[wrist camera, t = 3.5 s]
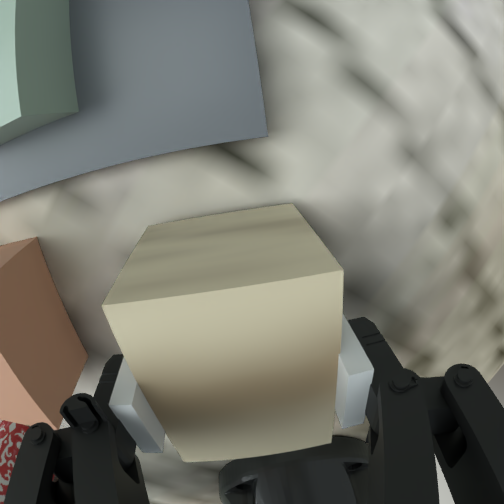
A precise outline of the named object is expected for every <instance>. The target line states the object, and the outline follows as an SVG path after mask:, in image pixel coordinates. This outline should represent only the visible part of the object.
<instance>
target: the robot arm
mask: <svg viewBox="0 0 504 504" xmlns="http://www.w3.org/2000/svg"><path fill="white" fill-rule="evenodd" d="M335 410H336V413H337V416H338V419H339V422H340V424H341V427H342V429H344V428H348V427H351V426H355V425H359V424H362V423H364V419H365V414H366V416H367V418H368V421H369V423H370V427H369V430H368V434H367V438H366V442H363V441H361V440H358V439H354V438H349V437H332V441H331V443H328V444H324V445H319V446H315V447H310V448H305V449H300V450H295V451H290V452H284V453H278V454H272V455H265V456H258V457H250V458H241V459H235V460H233V461H232V462H230V463H229V464H227V465H226V466H225V467H224V468H223V469H222V471H221V472H220V474H219V495H220V499H221V502H222V504H439V492H438V481H437V471H436V463H435V455H436V457H437V460H438V462H439V465H440V467H441V469H442V472H443V474H444V477H445V479H446V482H447V484H448V487H449V489H450V492H451V494H452V497H453V500H454V502H455V504H504V408H503V407H502V405H501V403H500V402H499V400H498V399H497V397H496V396H495V394H494V393H493V391H492V390H491V389H490V387H489V386H488V384H487V383H486V381H485V380H484V378H483V377H482V375H481V374H480V372H479V371H478V370H477V369H476V368H474V367H472V366H470V365H467V364H456V365H453V366H452V367H450V368H449V369H448V370H447V372H446V373H445V376H444V377H431V378H421V377H419V376H418V375H417V374H416V373H415V372H413V371H411V370H408V369H404V368H403V367H402V365H401V364H400V362H399V361H398V359H397V358H396V356H395V354H394V353H393V351H392V350H391V348H390V347H389V345H388V344H387V342H386V341H385V339H384V338H383V336H382V334H380V331H379V330H378V328H377V327H376V325H375V324H374V323H373V322H371V321H370V320H368V319H367V318H365V317H361V318H357V319H352V320H348V321H347V319H346V318H345V316H344V314H343V313H342V334H341V351H340V354H339V358H338V374H337V387H336V400H335ZM60 414H61V415H62V416H63V418H64V419H65V420H66V421H67V423H68V424H69V425H70V426H71V427H68V428H64V429H59V430H53V428H52V427H51V426H50V425H49V424H47V423H44V422H40V423H36V424H34V425H32V426H31V427H29V428H28V429H27V431H26V433H25V434H24V437H23V440H22V443H21V445H20V448H19V451H18V454H17V458H16V461H15V464H14V467H13V470H12V474H11V477H10V481H9V484H8V488H7V492H6V495H5V499H4V504H150V503H149V499H148V495H147V491H146V487H145V483H144V479H143V474H142V470H141V465H140V461H139V459H138V457H137V456H136V455H135V450H136V445H137V446H138V447H139V448H140V450H141V451H142V452H146V453H163V447H164V438H165V430H164V429H163V427H162V425H161V424H160V422H159V420H158V419H157V417H156V415H155V414H154V412H153V410H152V409H151V407H150V405H149V403H148V402H147V400H146V398H145V396H144V394H143V393H142V391H141V389H140V387H139V385H138V383H137V382H136V380H135V378H134V376H133V374H132V372H131V370H130V368H129V366H128V364H127V362H126V360H125V358H124V356H123V354H117V355H113V356H112V357H111V358H110V359H109V361H108V362H107V363H106V364H105V367H104V370H103V372H102V375H101V378H100V380H99V383H98V386H97V389H96V391H95V394H94V397H92V396H91V395H89V394H86V393H80V394H76V395H73V396H71V397H69V398H68V399H67V400H65V402H64V403H63V404H62V406H61V408H60ZM366 443H368V444H369V446H368V444H366ZM434 453H435V455H434ZM53 474H54V475H55V477H54V479H53V481H52V478H53Z"/></svg>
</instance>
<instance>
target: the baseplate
mask: <svg viewBox="0 0 504 504" xmlns="http://www.w3.org/2000/svg"><path fill="white" fill-rule="evenodd" d="M260 137H268V132H267V124H266V116H265V109H264V102H263V94H262V87H261V80H260V73H259V66H258V60H257V53H256V46H255V40H254V33H253V27H252V21H251V14H250V8H249V2H248V0H0V201H3V200H5V199H8V198H11V197H13V196H16V195H19V194H22V193H24V192H27V191H30V190H33V189H36V188H39V187H42V186H45V185H48V184H51V183H54V182H57V181H60V180H64V179H67V178H70V177H73V176H77V175H80V174H84V173H87V172H91V171H94V170H98V169H102V168H105V167H109V166H113V165H117V164H121V163H125V162H129V161H133V160H138V159H142V158H146V157H151V156H155V155H160V154H165V153H169V152H174V151H179V150H185V149H190V148H195V147H201V146H206V145H212V144H218V143H225V142H231V141H238V140H245V139H252V138H260Z"/></svg>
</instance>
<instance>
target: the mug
mask: <svg viewBox="0 0 504 504" xmlns="http://www.w3.org/2000/svg"><path fill="white" fill-rule="evenodd" d="M28 428H29V427H28V426H26V425H23V424H18V423H14V422H9V421H5V420H3V421H2V422H1V424H0V504H4V499H5V495H6V492H7V488H8V484H9V481H10V477H11V474H12V470H13V467H14V464H15V461H16V458H17V454H18V451H19V448H20V445H21V443H22V440H23V437H24V434H25V433H26V431H27V429H28ZM54 477H55V475H54V474H53V478H52V481H53V479H54Z"/></svg>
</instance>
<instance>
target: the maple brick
mask: <svg viewBox="0 0 504 504" xmlns="http://www.w3.org/2000/svg"><path fill="white" fill-rule="evenodd" d="M102 308H103V311H104V313H105V315H106V318H107V320H108V323H109V325H110V327H111V329H112V332H113V334H114V336H115V338H116V341H117V343H118V345H119V347H120V349H121V351H122V354H123V356H124V358H125V360H126V362H127V364H128V366H129V368H130V370H131V372H132V374H133V376H134V378H135V380H136V382H137V383H138V385H139V387H140V389H141V391H142V393H143V394H144V396H145V398H146V400H147V402H148V403H149V405H150V407H151V409H152V410H153V412H154V414H155V415H156V417H157V419H158V420H159V422H160V424H161V425H162V427H163V429H164V430H165V433H166V435H167V436H168V438H169V439H170V441H171V443H172V444H173V446H174V447H175V449H176V450H177V452H178V453H179V455H180V457H181V458H182V460H183V461H184V462H205V461H220V460H231V459H241V458H250V457H258V456H265V455H272V454H278V453H284V452H290V451H295V450H300V449H305V448H310V447H315V446H319V445H324V444H328V443H331V441H332V434H333V426H334V417H335V400H336V387H337V374H338V358H339V354H340V351H341V334H342V312H343V269H342V267H341V266H340V265H339V263H338V262H337V261H336V259H335V258H334V257H333V255H332V254H331V253H330V251H329V250H328V249H327V247H326V246H325V245H324V243H323V242H322V241H321V239H320V238H319V237H318V236H317V234H316V233H315V232H314V230H313V229H312V228H311V226H310V225H309V224H308V223H307V221H306V220H305V219H304V218H303V216H302V215H301V214H300V212H299V211H298V210H297V209H296V207H295V206H294V205H293V204H292V203H290V204H283V205H275V206H268V207H261V208H254V209H248V210H241V211H234V212H228V213H221V214H215V215H209V216H203V217H196V218H190V219H184V220H179V221H173V222H167V223H161V224H156V225H150V226H148V227H147V229H146V231H145V232H144V234H143V235H142V237H141V239H140V240H139V242H138V243H137V245H136V247H135V248H134V250H133V252H132V253H131V255H130V257H129V258H128V260H127V262H126V263H125V265H124V267H123V268H122V270H121V272H120V273H119V275H118V277H117V279H116V280H115V282H114V284H113V286H112V287H111V289H110V291H109V293H108V295H107V296H106V298H105V300H104V302H103V304H102Z"/></svg>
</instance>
